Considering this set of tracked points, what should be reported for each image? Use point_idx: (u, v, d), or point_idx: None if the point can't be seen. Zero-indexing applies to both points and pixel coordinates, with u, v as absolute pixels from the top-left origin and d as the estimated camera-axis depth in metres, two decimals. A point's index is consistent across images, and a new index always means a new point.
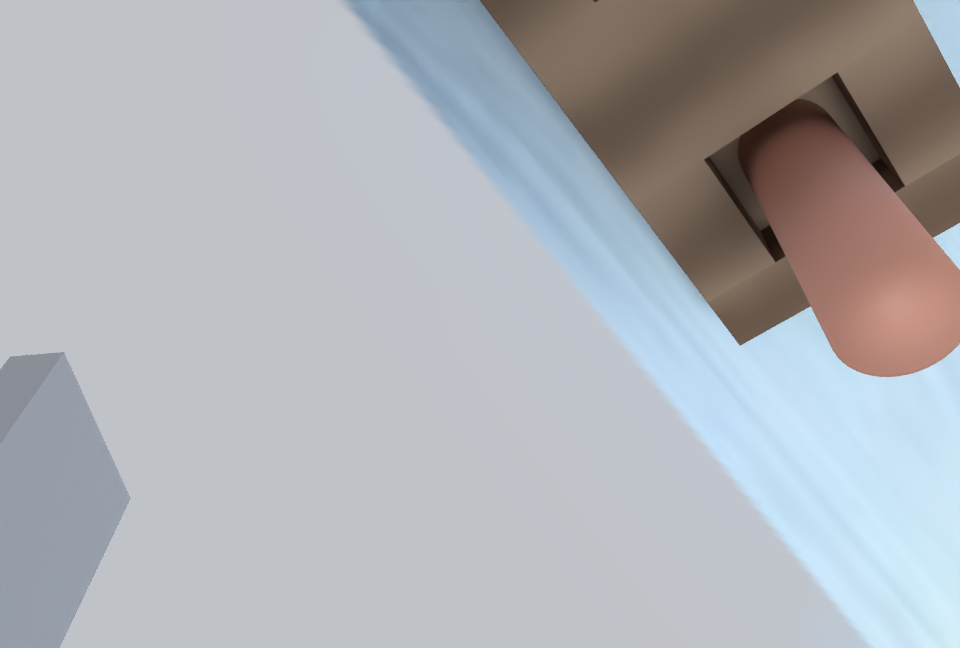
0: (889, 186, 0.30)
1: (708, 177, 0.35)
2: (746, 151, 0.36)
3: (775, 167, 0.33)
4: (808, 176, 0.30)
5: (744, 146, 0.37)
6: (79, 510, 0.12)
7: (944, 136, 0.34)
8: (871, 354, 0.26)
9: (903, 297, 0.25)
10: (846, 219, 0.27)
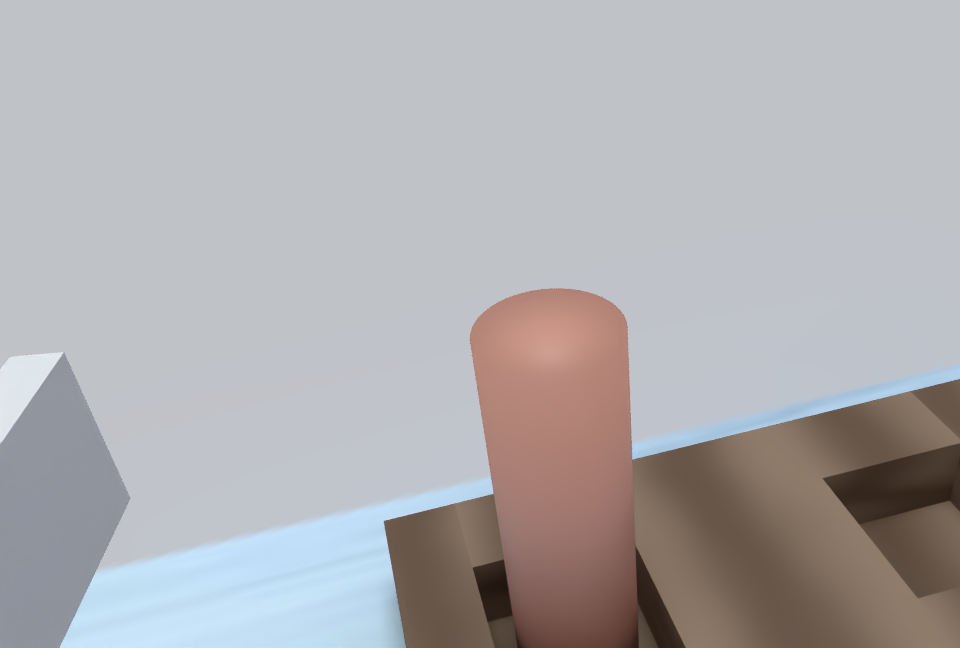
0: (591, 560, 0.25)
1: None
2: None
3: None
4: None
5: None
6: (79, 510, 0.12)
7: None
8: (512, 312, 0.24)
9: (574, 333, 0.23)
10: None
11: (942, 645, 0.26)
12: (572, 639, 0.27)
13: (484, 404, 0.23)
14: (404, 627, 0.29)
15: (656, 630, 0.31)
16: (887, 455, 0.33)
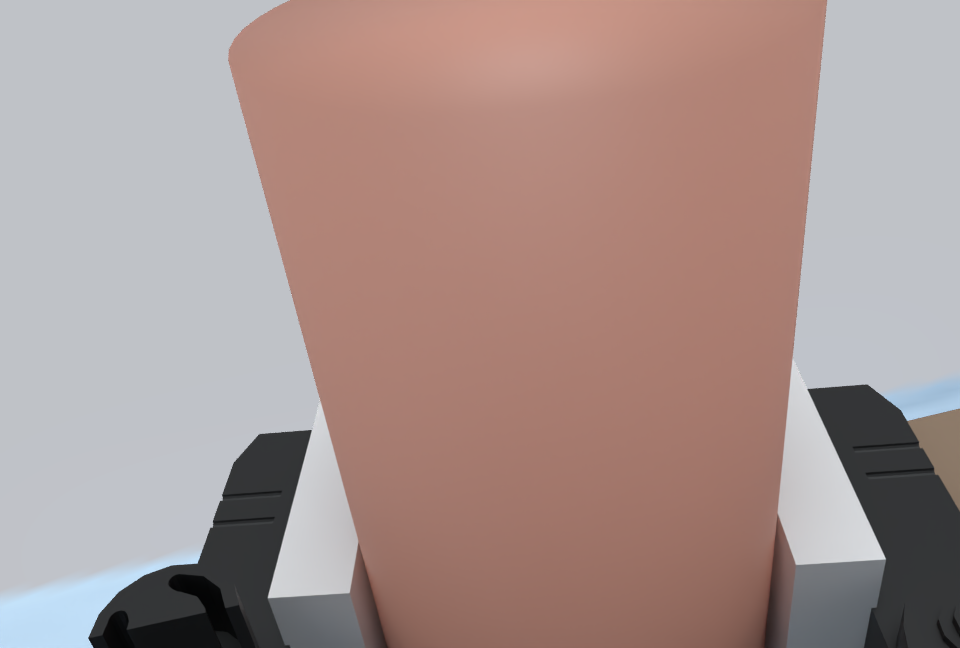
0: None
1: None
2: None
3: None
4: None
5: None
6: None
7: None
8: None
9: (616, 1, 0.06)
10: None
11: None
12: None
13: (290, 279, 0.06)
14: None
15: None
16: None
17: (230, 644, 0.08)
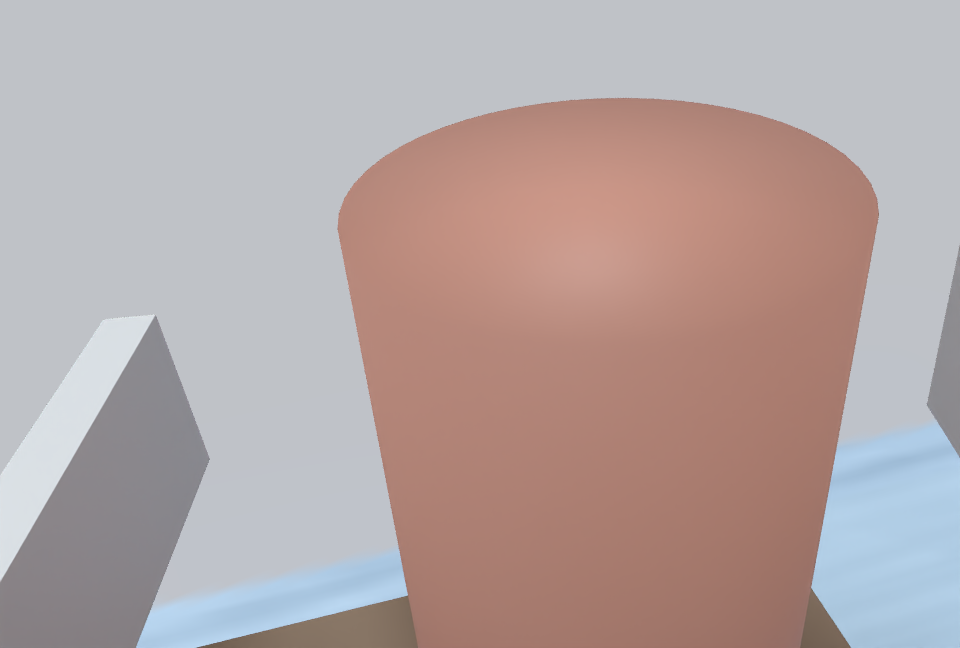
0: None
1: None
2: None
3: None
4: None
5: None
6: (170, 466, 0.13)
7: None
8: (484, 146, 0.08)
9: (688, 197, 0.07)
10: None
11: None
12: None
13: (381, 427, 0.07)
14: None
15: None
16: None
17: None
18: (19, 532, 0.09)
